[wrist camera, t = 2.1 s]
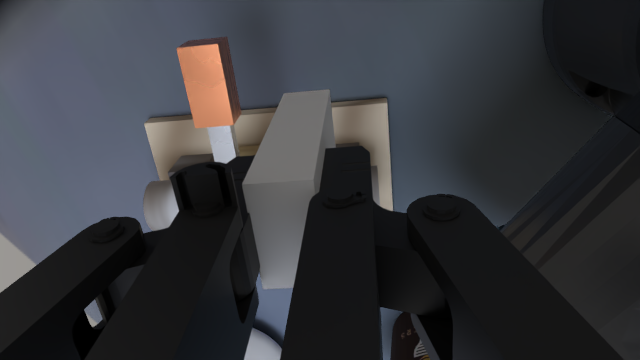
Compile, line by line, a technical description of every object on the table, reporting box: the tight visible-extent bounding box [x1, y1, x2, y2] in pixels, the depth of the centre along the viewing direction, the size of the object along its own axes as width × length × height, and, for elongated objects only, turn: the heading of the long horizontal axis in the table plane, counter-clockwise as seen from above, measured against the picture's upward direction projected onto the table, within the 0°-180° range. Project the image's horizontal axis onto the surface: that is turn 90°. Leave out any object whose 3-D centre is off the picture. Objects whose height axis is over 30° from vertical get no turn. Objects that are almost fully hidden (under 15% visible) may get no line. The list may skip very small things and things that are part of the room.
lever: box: [177, 37, 242, 163], centre depth 27 cm, size 14×3×2 cm, turn 6°
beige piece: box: [143, 98, 393, 231], centre depth 35 cm, size 18×10×10 cm, turn 96°
